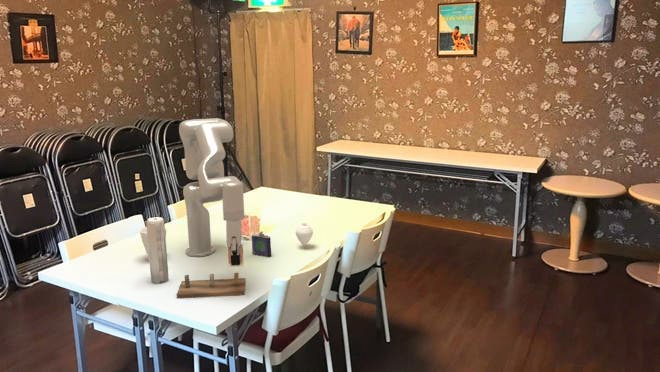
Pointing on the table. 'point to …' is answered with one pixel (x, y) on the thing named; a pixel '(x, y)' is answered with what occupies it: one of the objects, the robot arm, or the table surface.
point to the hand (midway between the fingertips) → (236, 261)
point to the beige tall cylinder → (157, 250)
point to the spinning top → (304, 233)
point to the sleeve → (240, 256)
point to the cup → (146, 239)
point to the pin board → (212, 287)
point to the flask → (261, 245)
